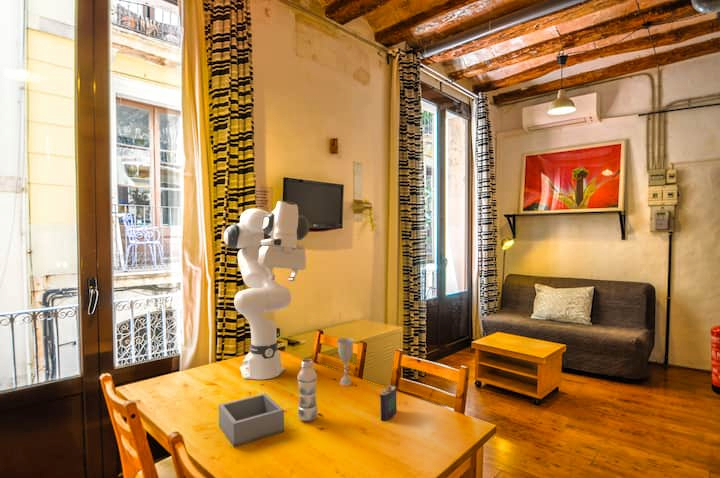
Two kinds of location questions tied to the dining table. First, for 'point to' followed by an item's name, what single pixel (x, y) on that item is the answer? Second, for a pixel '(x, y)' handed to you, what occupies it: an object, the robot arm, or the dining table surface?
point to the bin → (250, 419)
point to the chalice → (345, 356)
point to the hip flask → (388, 403)
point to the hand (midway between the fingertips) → (281, 280)
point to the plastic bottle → (307, 391)
